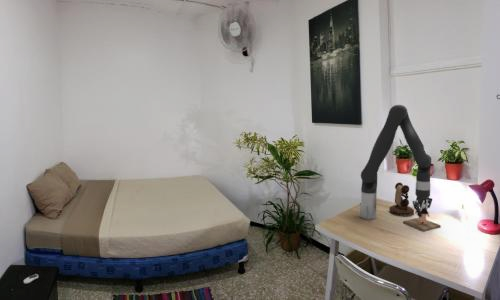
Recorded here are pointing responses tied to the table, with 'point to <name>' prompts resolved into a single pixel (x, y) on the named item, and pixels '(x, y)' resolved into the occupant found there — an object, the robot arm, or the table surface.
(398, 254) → the table surface
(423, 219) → the grandmother figurine
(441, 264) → the table surface
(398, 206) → the brown wooden statue
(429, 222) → the walnut board
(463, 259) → the table surface
